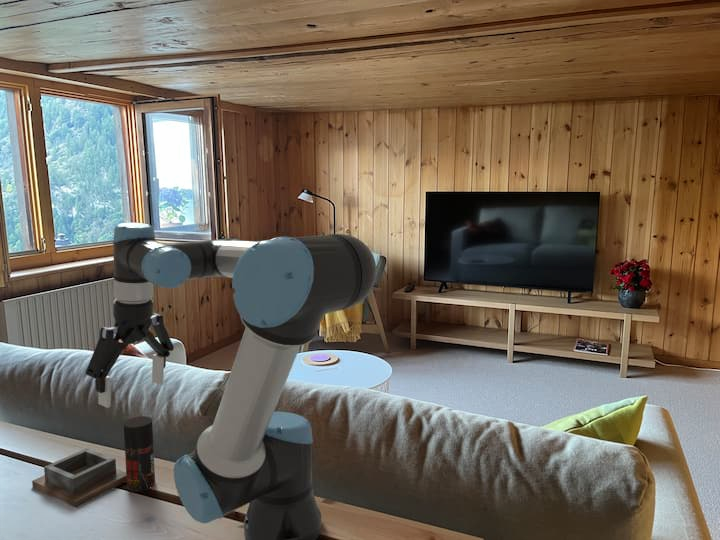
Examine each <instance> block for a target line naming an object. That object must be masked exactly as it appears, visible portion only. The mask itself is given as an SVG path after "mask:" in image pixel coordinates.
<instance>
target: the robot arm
mask: <svg viewBox="0 0 720 540" xmlns="http://www.w3.org/2000/svg"><path fill="white" fill-rule="evenodd" d="M112 245H113V251H112V252H113V298H114V300H113V310H112V313H113V314H112V316H113V318H114V320H115V321H114V322H115V323H114V326H111V327H107V326H102V327H100V330H99V331H100V332H99V339H98V341H97V344H96V346H95V348H94V350H93V353H92V355H91V358H90V360H89V362H88V365H87V367H86V371H85V375H86V376H88V377H91V378H93V379H95V384H94V385H95V389H94V390H95V392H97V394H98V395H97V396H98V397H97V399H98V405H100V406H103V407H105V408H107V409H108V408H110V407H111V402H112V401H111V397H112V395H111V393H112V392H111V389H112V388H111V387H112V386H111V384H112V383H111V376H109V373H110V372H111V370H112V368H113V367H114V365H115V364H116V362H117V361H118V359H119V357H120V355H121V354H122V352H123V350H125V349H127V348H128V346H129V345H132V344H134V343H136V342H141V341H143V340H144V341H145V342H146V343H147V345H149V347H150V348H151V349H152V350H153V351H154V352H155V353H154V354H152V366H151V367H152V368H151V369H152V370H151V375H152V377H151V382H152V383H154V384H156V385H159V386H162V385H164V374H165V373H164V370H165V368H166V364H167V363H166V362H167V360H166V359H167V358H168V357H169V356H170V355H171V352H172V351H173V350H174V348H175V347H174V343H173V342H172V339H171V338H170V335H169V333H168V331H167V329H166V327H165V324H164V316H163V315H161V314H160V313H156V312H154V300H153V297H154V285H155V286H158V287H161V288H165V289H175V288H178V287H180V286H182V285H183V284H184V283H185V282H187V281H190V280H197V279H203V278H210V277H211V278H212V277H213V278H215V277H220V278H221V277H222V278H231V279H232V283H231V285H232V286H231V287H232V289H234V293H233V294H232V297H233V302H234V305H235V308H236V310H237V312H238V314H239V318H240V320H241V322H242V324H243V325H244V326H245V328H244V331H243V335H242V338H241V340H240V343H239V346H238V349H237V352H236V355H235V358H234V361H233V363H232V368H231V370H230V374H229V375H228V379H227V382H226V385H225V388H224V391H223V394H222V397H221V399H220V402H219V406H218V408H217V409H218V410H217V412H216V415H215V416H214V417H215V418H214V420H213V424H211V425H210V426H208V427H207V428H206V429H204V430H203V432H201V434H200V435H199V437H198V440H197V441H196V442H197V443H196V446H195V448H194V450H193V452H191V453H190V454H184V455H183V456H182V457H180V458H178V459H177V460H176V461H175V464H174V466H173V479H174V483H175V488H176V490H177V491H176V492H177V494H178V497H179V499H180V502H181V503H182V506H183V507H184V509H185V511H186V512H187V514H188V515H189V516H190V517H191V518H192V519H193V520H194V521H196V522H198V523H201V524H208V523H212V522H214V521H216V520H218V519H223V517H224V516H226V515H228V514H230V513H233V512H234V511H236V510H238V509H240V508H243V507H244V506H246V505H248V504H249V505H248V508H247V511H246V514H245V517H244V519H243V534H244V539H245V540H317V539H318V537H319V536H320V534H321V532H322V514H321V511H320V508H319V506H318V504H317V501H316V498H315V493H314V490H313V445H314V439H313V433H312V424H311V422H310V421H309V420H308V419H307V418H305V417H303V416H302V415H300V414H297V413H293V412H287V411H275V410H276V408H277V405H278V402H279V400H280V398H281V395H282V392H283V390H284V388H285V386H286V383H287V380H288V378H289V376H290V372H291V370H292V369H293V366H294V362H295V360H296V359H297V356H298V353H299V350H300V348H301V347H303V346H306V345H308V344H310V343H311V342H312V341H313V340H315V337H316V335H317V334H318V331H319V328H320V326H321V323H322V322H323V319H324V317H325V316H326V315H327V314H331V313H334V312H339V311H342V310H347V309H350V308H353V307H355V306H356V305H358V304H360V303H361V302H362V301H364V300H365V299H366V298H367V297H368V296H369V294H370V293H371V291H372V290H373V288H374V285H375V283H376V279H377V264H376V263H377V262H376V261H375V260H376V259H375V257H374V255H373V252H372V250H370V248H369V247H368V246H367V245H366V244H365V243H364V242H363V241H362V240H360V239H359V238H357V237H355V236H353V235H349V234H343V233H330V234H322V235H321V234H320V235H310V236H299V237H298V236H297V237H296V236H295V237H292V236H277V237H274V238H272V239H266V240H240V239H238V238H220V239H209V240H196V241H195V240H194V241H180V242H179V241H178V242H176V241H175V242H159V241H157V240H156V236H155V229H154V227H153V226H152V225H151V224H148V223H142V222H122V223H121V222H120V223H118V224H116V226H115V227H114V229H113V240H112ZM151 326H152V328H153V331H154V333H155V334H154V333H152V332H151V331H150V330H149V329H150V328H151ZM154 335H156V337H157V338H156V337H155V336H154ZM158 340H159V341H158Z"/></svg>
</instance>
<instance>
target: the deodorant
mask: <svg viewBox="0 0 720 540" xmlns="http://www.w3.org/2000/svg"><path fill="white" fill-rule="evenodd" d="M123 436H124V437H123V438H124V439H123V440H124V456H125V472H126V476H127V481H126V488H127V490H128V491H130V492H133V493H134V492H143V491H146V490H149V489H151V488H153V487H154V486H155V484H156V475H155V474H156V472H155V471H156V470H155V469H156V468H155V454H154V453H155V452H154V451H155V450H154V449H155V448H154V432H153V419H152V417H149V416H146V415H145V416H144V415H143V416H142V415H141V416H140V415H139V416H135V417H130V418H128V419H126V420H124V422H123ZM154 483H155V484H154ZM153 485H154V486H153ZM150 487H151V488H150Z"/></svg>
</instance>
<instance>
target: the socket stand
mask: <svg viewBox="0 0 720 540" xmlns="http://www.w3.org/2000/svg"><path fill="white" fill-rule="evenodd" d="M116 462H117V461H116V457H115V458H114V457H112V456H109V455H107V454H104V453H101V452H99V451H96V450H94V449H91V448H88V447H86V448H84V449H82V450H80V451H78V452H75V453H73V454H70V455H68V456H66V457H64V458H62V459H59V460H57V461H54V462H52V463H50V464H48V465H45V466H44V468H43V471H44V475H42V476H40V477H37V478H36V479H33V480H31V483H32V488H34V489H36V490H38V491H40V492H42V493H45V494H47V495H49V496H50V497H53V498H55V499H58V500H59V501H61V502H63V503H66V504H68V505H70V506H72V507H75V508H78V506H79V507H81V506H82V504H83V505H84V504H86V503H89V502H91V501H92V500H94V499H96V498H97V496H98V497H100V496H101V495H100V494H102V493H103V494H105V493H107V492H109V491H111V490H113V489H115V488H117V487H119V486H120V485H123V484H124V483H127V476H126V471H124V470H121V469H118V468H117V464H116ZM112 488H113V489H112ZM110 489H111V490H110ZM108 490H109V491H108ZM106 491H107V492H106ZM104 492H105V493H104ZM103 494H102V495H103ZM99 495H100V496H99ZM95 497H96V498H95ZM93 498H94V499H93ZM80 505H81V506H80Z"/></svg>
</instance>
